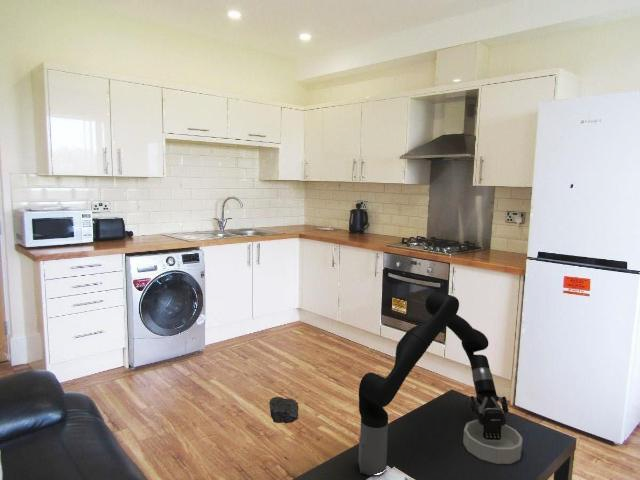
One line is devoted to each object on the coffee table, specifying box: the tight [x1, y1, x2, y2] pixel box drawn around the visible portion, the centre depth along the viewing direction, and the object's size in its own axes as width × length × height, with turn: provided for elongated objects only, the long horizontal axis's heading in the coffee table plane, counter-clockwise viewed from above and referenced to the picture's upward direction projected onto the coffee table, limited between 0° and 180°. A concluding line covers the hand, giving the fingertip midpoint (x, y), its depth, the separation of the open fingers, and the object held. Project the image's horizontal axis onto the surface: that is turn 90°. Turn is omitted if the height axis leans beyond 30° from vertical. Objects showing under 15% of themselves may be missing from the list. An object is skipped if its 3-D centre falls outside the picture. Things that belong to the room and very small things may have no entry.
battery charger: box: [482, 408, 505, 440], centre depth 166 cm, size 7×4×11 cm, turn 89°
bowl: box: [462, 419, 523, 465], centre depth 167 cm, size 20×20×6 cm
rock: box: [268, 396, 299, 424], centre depth 186 cm, size 13×6×15 cm
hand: (493, 425), depth 166 cm, fingers closed on battery charger, 7 cm apart
